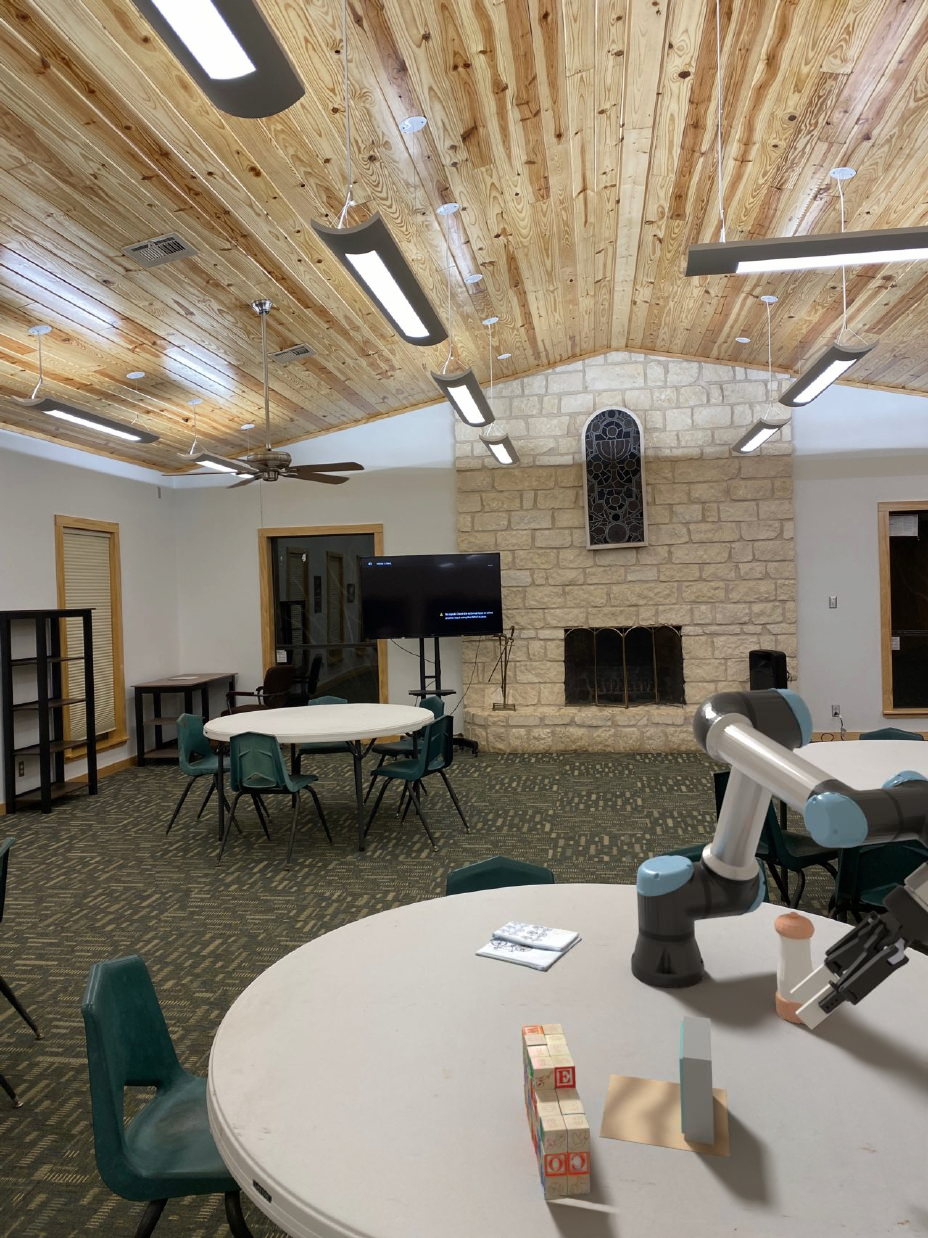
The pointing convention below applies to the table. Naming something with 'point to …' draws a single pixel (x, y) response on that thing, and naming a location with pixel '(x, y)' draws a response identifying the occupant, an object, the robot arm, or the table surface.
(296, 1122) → the table surface
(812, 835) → the robot arm
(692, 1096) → the block
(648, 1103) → the mat
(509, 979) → the table surface
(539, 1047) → the stack of blocks
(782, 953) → the salt shaker
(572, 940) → the folded white cloth
